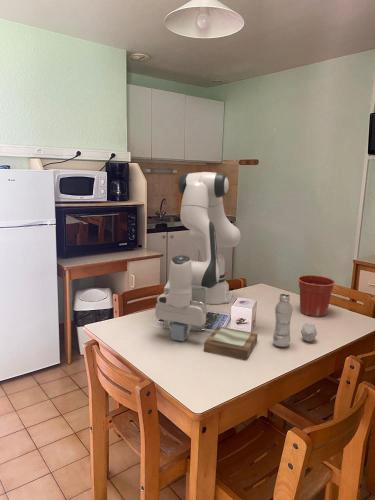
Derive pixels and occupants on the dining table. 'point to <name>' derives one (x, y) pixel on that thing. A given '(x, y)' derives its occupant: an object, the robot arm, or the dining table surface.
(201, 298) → the supplement box
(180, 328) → the slate block
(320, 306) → the flower pot
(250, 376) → the dining table surface
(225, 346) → the walnut stand
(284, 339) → the plastic bottle
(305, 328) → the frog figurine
